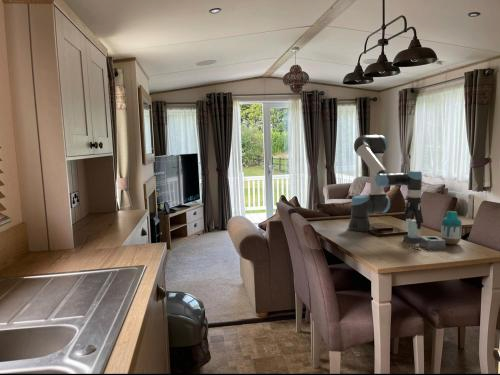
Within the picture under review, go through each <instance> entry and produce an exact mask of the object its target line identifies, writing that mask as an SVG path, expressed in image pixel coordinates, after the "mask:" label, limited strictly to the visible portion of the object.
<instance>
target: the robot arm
mask: <svg viewBox="0 0 500 375" xmlns="http://www.w3.org/2000/svg"><path fill="white" fill-rule="evenodd" d="M388 142H389V141H388V140H387V138H386V137H385V136H384V135H381V134H371V135H370V134H363V135H360V136H358V137H357V138H356V139H355V140H354V142H353V150H354V151H355V153H356V155H357V156H359V157H361V159H362V160H363V161H364V163H365V164H366V166H367V167H368V168H369V179H370V181H369V182H370V192H369V193H368V194H359V195H355V196H353V197H352V198H351V203H350V206H351V210H350V211H351V212H350V220H349V223H348V225H347V226H348V227H347V228H348V230H349V231H351V232H360V233H362V232H364V233H365V232H368V231H367V230H369V229H371V230H372V225H371V222H370V216H369V215H373V214H384V213H387V212H388V211H389V209H390V208H391V199H390V197H389V196H387V193H386V192H385V189H384V187H392V186H394V187H395V186H406V187H407V191H406V192H407V197H406V208H405V210H404V211H405V212H404V215H403V216H404V218H405V230H408V221H409V220H412V214H413V215H414V218H415V219H414V220H416V231H415V234H417V235H421V232H422V231H421V230H422V228H421V227H422V224H423V223H424V219H423V212H422V206H421V205H420V204H421V203H422V182H423V181H422V180H423V176H422V175H423V173H422V171H421V170H409V171H408V172H406V173H405V172H396V173H391V172H389V171H388V170H387V169H386V167H385V166H384V165H383V156H384V155H385V152H387V150H388V148H389V145H388V144H389V143H388ZM419 205H420V206H419Z"/></svg>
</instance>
